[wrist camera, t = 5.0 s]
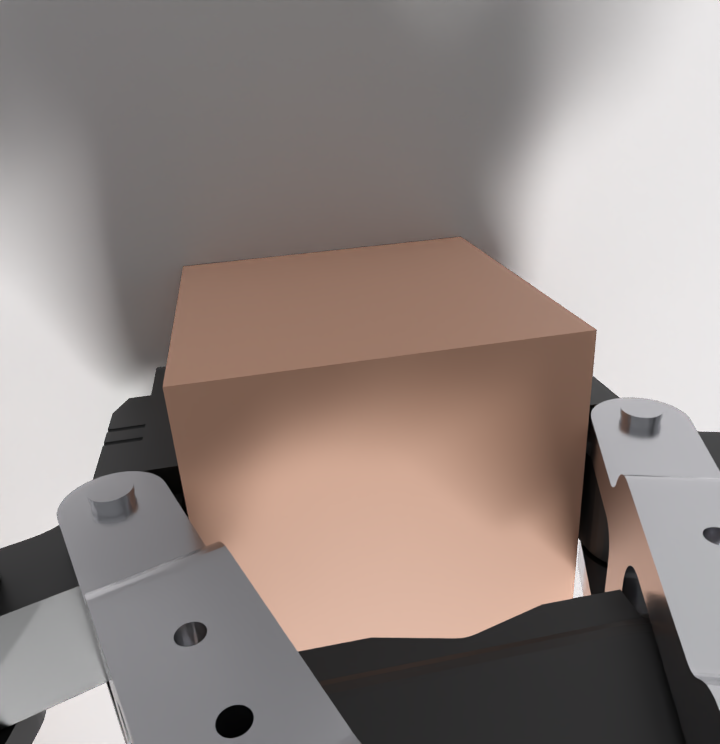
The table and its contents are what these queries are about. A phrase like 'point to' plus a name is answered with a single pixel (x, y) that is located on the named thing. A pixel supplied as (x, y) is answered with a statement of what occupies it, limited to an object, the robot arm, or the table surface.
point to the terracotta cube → (382, 436)
